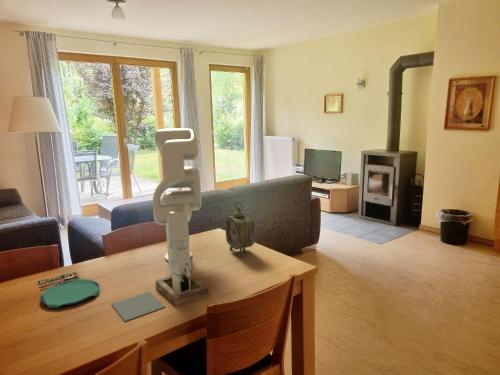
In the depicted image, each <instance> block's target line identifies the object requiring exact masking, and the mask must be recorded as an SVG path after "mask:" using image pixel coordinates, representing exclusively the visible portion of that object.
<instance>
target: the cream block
mask: <svg viewBox="0 0 500 375" xmlns="http://www.w3.org/2000/svg"><path fill="white" fill-rule="evenodd" d="M184 272H185V271H184ZM171 275H172V284H173V285H172V289H173V290H174V291H175V292H177V293H178V294H182V293H185V292H188V291H191V290H192V289H191V288H192V287H191V284H190V278H189V290H186V291H183V292H182V291H181V283H180V282H181V276H179V275H177V274H176V273H175V272H173V271H172V272H171ZM185 276H186V274H185V275H183V278H184V277H185Z"/></svg>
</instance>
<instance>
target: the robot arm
mask: <svg viewBox="0 0 500 375" xmlns="http://www.w3.org/2000/svg"><path fill="white" fill-rule="evenodd" d="M154 142H155V144H156V147H157V149H158V152H159V153H160V157H161V163H162V164H161V165H162V166H161V167H162V180H161V181H160V183H159V184H158V185H157V186H156V189H155V190H154V192H153V196H152V212H153V220H154V223H156V224H157V225H165V232H166V235H165V236H166V246H167V247H166V249H167V253H165V254H164V260H165V261H167V262H168V268H169V269H170V271H172V272H175V273H176V274H177V275H179V276H181V282H180V283H181V291H182V292H183V291H186V290H189V278H190V277H191V275H192V273H191V271H192V263H191V262H192V261H191V258H193V253H192V252H191V251H190V248H189V247H190V234H189V222H190V221H191V219H192V215H193V214H192V213H193V211H199V210H200V209H201V207H202V192H201V191H202V190H201V187H202V186H201V177H200V172H199V169H198V168H197V167H196V166H185V161H194V160H197V158H198V156H199V143H198V138H197V133H196V131H195V130H194V129H193V128H190V127H189V128H186V127H185V128H184V127H183V128H162V129H158V130H156V131H155V132H154ZM183 188H184V189H185V188H188V189H189V190H172V191H168V192H165V191H166V190H168V189H183ZM164 192H165V193H164ZM184 271H185V272H184ZM185 274H186V276H185V277H184V278H183V275H185Z"/></svg>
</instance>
